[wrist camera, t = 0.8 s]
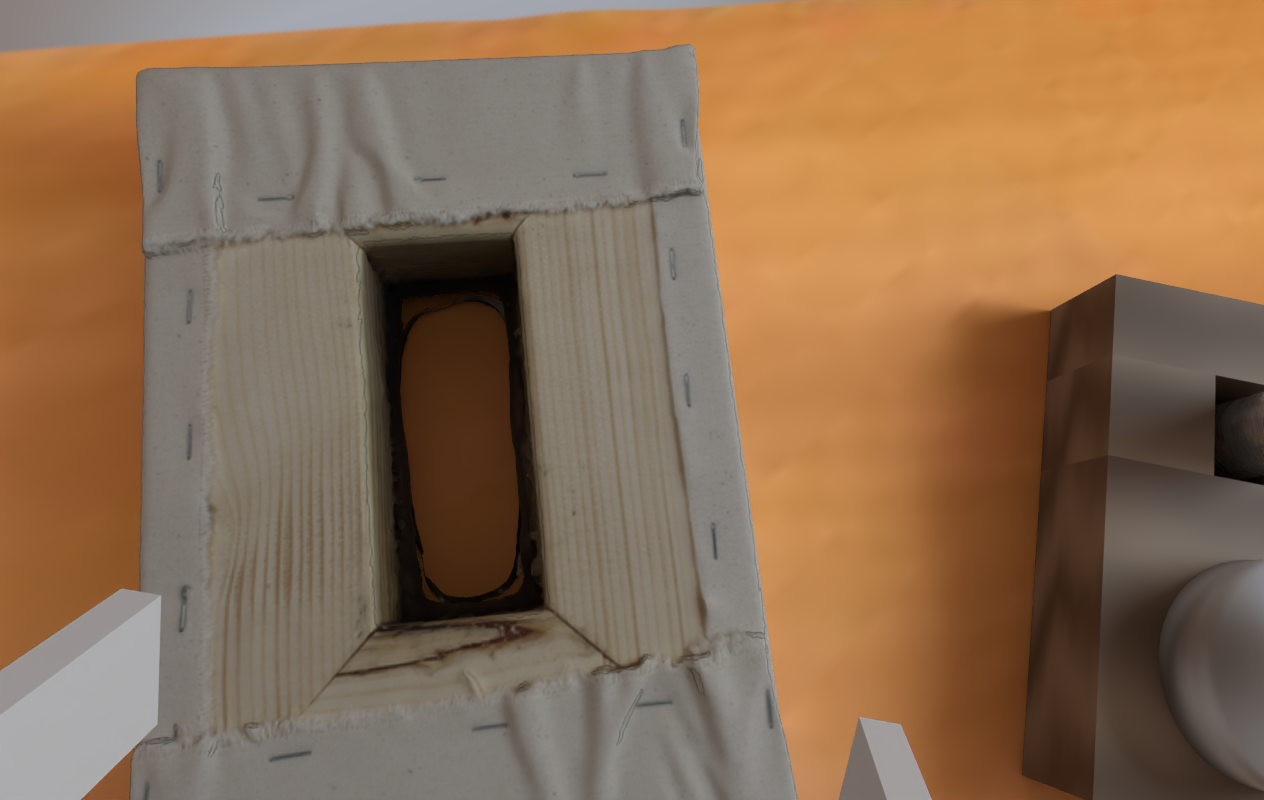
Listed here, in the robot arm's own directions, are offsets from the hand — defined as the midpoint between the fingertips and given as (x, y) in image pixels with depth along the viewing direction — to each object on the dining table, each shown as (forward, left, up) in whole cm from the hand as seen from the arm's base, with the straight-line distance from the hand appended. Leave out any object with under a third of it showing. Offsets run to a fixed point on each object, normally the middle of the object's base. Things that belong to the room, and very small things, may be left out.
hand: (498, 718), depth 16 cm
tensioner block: (+9, -30, -22) cm, 38 cm away
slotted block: (+8, +4, -22) cm, 24 cm away
